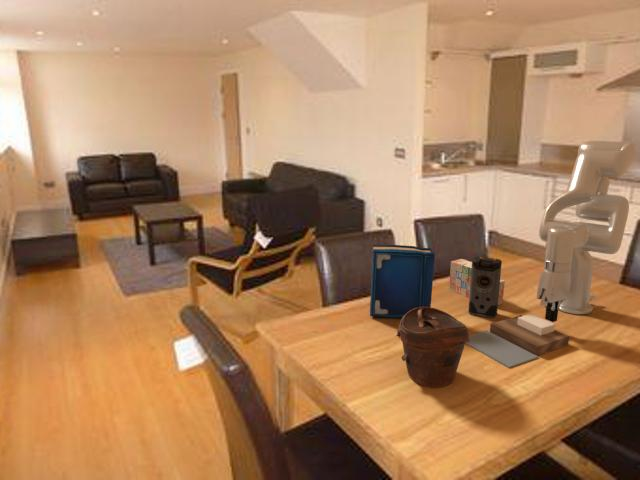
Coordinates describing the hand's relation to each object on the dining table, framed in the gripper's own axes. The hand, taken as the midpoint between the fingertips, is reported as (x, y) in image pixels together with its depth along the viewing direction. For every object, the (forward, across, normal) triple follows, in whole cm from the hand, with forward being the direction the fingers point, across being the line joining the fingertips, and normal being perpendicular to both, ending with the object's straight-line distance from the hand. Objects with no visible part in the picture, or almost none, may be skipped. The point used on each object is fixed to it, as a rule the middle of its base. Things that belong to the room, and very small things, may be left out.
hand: (550, 320), depth 158 cm
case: (+5, +51, +2) cm, 51 cm away
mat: (+4, +24, 0) cm, 24 cm away
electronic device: (+4, +8, -21) cm, 23 cm away
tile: (0, +7, 0) cm, 7 cm away
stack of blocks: (+4, -2, -34) cm, 35 cm away
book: (+4, +34, -34) cm, 48 cm away
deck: (+4, +10, 0) cm, 11 cm away
